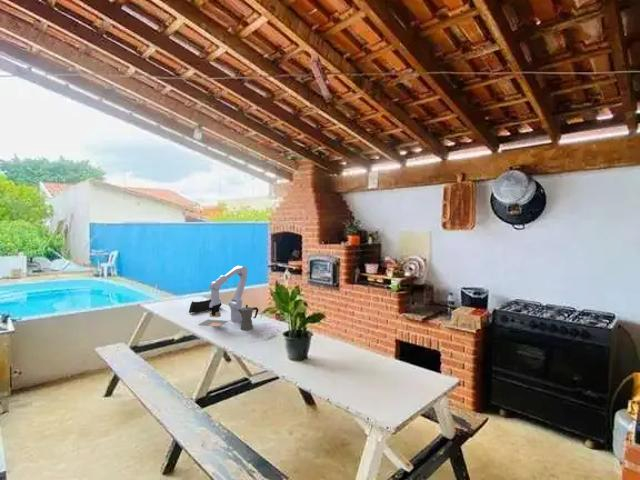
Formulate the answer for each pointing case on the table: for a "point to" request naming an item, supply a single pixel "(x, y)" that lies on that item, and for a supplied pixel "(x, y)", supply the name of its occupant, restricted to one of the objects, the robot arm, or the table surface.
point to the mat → (213, 323)
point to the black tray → (200, 306)
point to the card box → (216, 314)
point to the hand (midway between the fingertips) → (215, 314)
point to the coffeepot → (247, 317)
